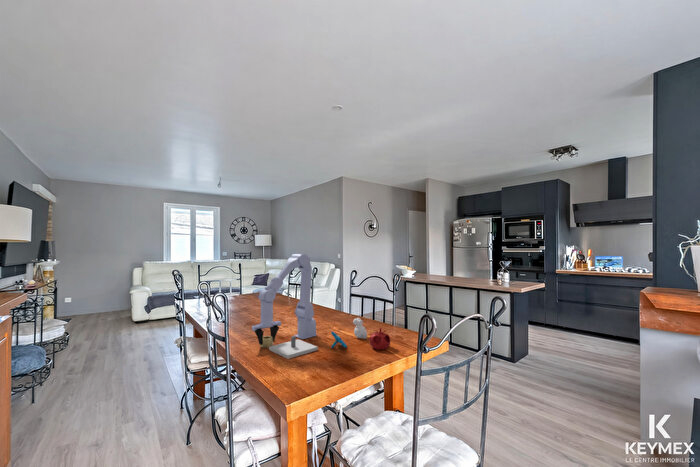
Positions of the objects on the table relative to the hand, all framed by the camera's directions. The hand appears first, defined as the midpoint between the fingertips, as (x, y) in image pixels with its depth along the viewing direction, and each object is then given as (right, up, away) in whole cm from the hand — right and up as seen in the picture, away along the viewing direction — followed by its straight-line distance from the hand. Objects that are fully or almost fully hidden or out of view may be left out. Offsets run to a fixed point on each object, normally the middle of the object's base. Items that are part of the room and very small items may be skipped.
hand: (266, 342), depth 151 cm
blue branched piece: (+35, -1, -3) cm, 35 cm away
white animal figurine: (+46, -2, +13) cm, 47 cm away
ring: (0, -1, 0) cm, 1 cm away
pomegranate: (+54, -1, -4) cm, 55 cm away
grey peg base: (+14, -1, -6) cm, 15 cm away
